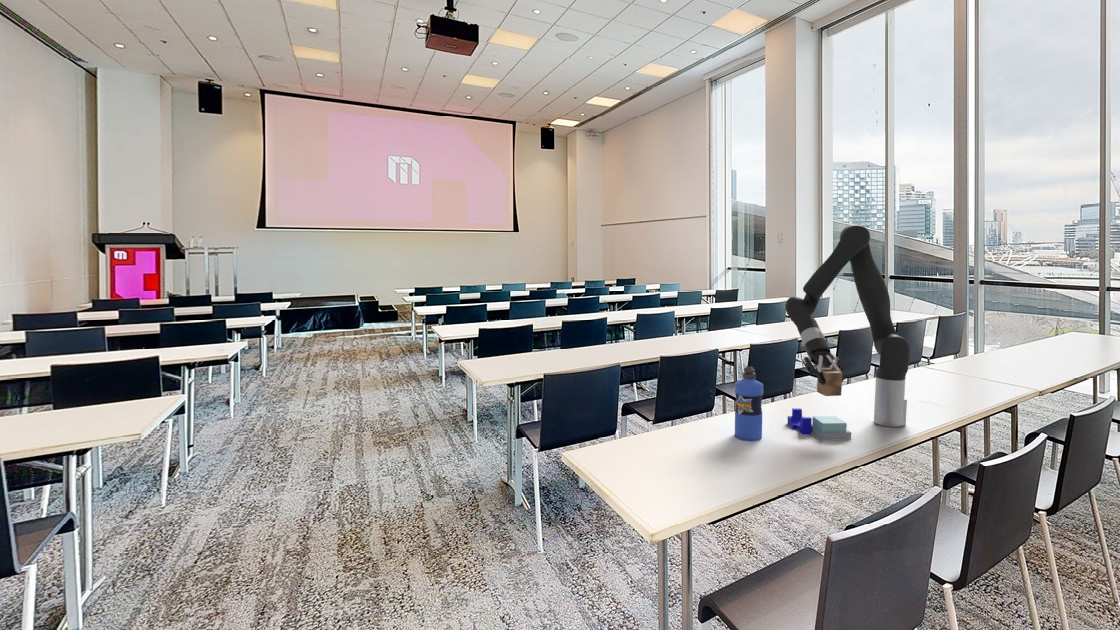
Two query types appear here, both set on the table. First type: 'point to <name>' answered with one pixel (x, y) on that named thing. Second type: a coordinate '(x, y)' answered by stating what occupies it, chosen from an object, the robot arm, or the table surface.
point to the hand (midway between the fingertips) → (832, 382)
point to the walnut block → (830, 383)
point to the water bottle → (748, 407)
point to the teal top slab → (829, 424)
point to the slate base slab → (830, 434)
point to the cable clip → (800, 421)
